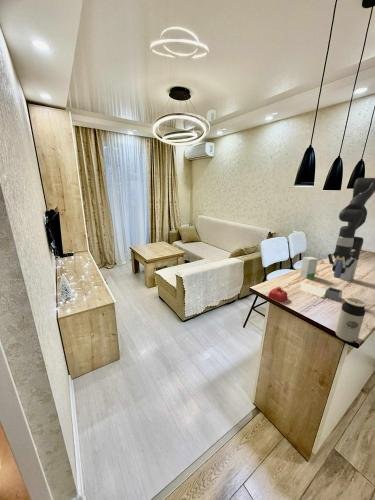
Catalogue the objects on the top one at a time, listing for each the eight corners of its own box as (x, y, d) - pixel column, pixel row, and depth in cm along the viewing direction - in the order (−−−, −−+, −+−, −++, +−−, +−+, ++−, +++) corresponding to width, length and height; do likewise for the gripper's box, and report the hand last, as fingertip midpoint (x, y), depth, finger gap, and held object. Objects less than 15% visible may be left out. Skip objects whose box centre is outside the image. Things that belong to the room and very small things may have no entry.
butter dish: (282, 307, 118) (284, 293, 116) (263, 299, 126) (265, 286, 124) (291, 300, 125) (293, 288, 123) (272, 293, 134) (274, 281, 131)
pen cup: (328, 293, 134) (329, 286, 133) (340, 298, 129) (342, 290, 128) (324, 297, 130) (325, 290, 128) (337, 301, 125) (339, 294, 123)
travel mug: (336, 328, 100) (344, 294, 95) (357, 336, 95) (367, 300, 90) (334, 337, 94) (343, 301, 89) (356, 345, 89) (367, 308, 84)
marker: (334, 275, 128) (338, 255, 125) (341, 277, 125) (346, 257, 122) (332, 277, 126) (336, 257, 122) (339, 279, 123) (344, 258, 120)
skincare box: (305, 279, 156) (309, 259, 151) (299, 276, 162) (302, 257, 158) (314, 278, 158) (318, 258, 154) (307, 275, 164) (311, 256, 160)
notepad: (301, 283, 149) (301, 282, 149) (330, 292, 136) (331, 291, 136) (293, 289, 140) (293, 287, 140) (323, 299, 127) (323, 297, 127)
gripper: (361, 246, 117) (354, 274, 122) (332, 241, 128) (326, 267, 132) (358, 248, 113) (350, 277, 117) (328, 243, 123) (322, 270, 128)
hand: (338, 272), depth 125 cm, fingers closed on marker, 3 cm apart
